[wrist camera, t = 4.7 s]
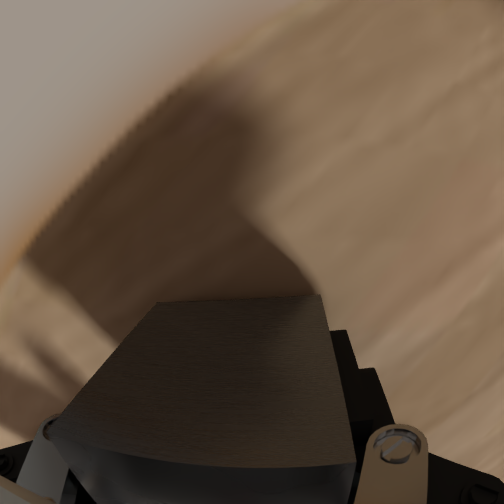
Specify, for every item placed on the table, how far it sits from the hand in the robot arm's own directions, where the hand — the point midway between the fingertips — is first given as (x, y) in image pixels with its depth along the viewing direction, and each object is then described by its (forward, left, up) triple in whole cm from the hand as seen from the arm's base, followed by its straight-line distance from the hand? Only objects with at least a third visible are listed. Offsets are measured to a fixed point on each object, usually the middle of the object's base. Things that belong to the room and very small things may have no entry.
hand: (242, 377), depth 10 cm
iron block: (0, 0, -1) cm, 1 cm away
